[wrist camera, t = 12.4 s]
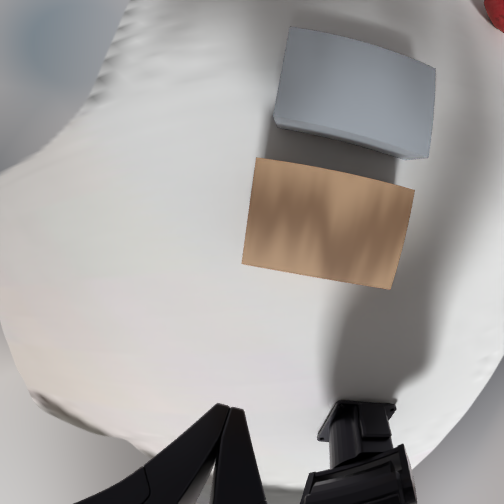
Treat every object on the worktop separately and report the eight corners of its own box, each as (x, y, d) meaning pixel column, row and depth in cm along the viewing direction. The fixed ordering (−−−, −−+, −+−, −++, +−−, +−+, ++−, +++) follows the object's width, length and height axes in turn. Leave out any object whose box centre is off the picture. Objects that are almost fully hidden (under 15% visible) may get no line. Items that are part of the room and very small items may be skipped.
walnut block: (391, 289, 15) (241, 263, 16) (375, 268, 19) (252, 246, 20) (416, 190, 13) (256, 157, 14) (393, 186, 17) (264, 160, 18)
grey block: (429, 158, 13) (273, 116, 13) (405, 160, 16) (277, 128, 17) (436, 69, 11) (290, 26, 12) (413, 85, 15) (291, 52, 16)
